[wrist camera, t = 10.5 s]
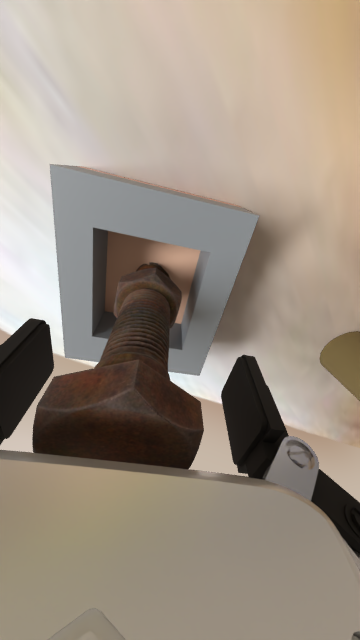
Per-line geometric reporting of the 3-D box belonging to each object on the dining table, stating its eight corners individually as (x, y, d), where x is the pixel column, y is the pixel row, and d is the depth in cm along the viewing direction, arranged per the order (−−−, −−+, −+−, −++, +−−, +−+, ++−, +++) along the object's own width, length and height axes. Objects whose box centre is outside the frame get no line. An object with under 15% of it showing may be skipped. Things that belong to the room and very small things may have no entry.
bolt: (131, 309, 21) (71, 500, 9) (110, 259, 19) (-20, 427, 6) (191, 296, 21) (218, 480, 8) (177, 242, 18) (187, 389, 6)
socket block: (239, 205, 18) (259, 215, 14) (195, 342, 25) (199, 375, 21) (81, 166, 16) (49, 164, 12) (84, 324, 24) (65, 357, 19)
